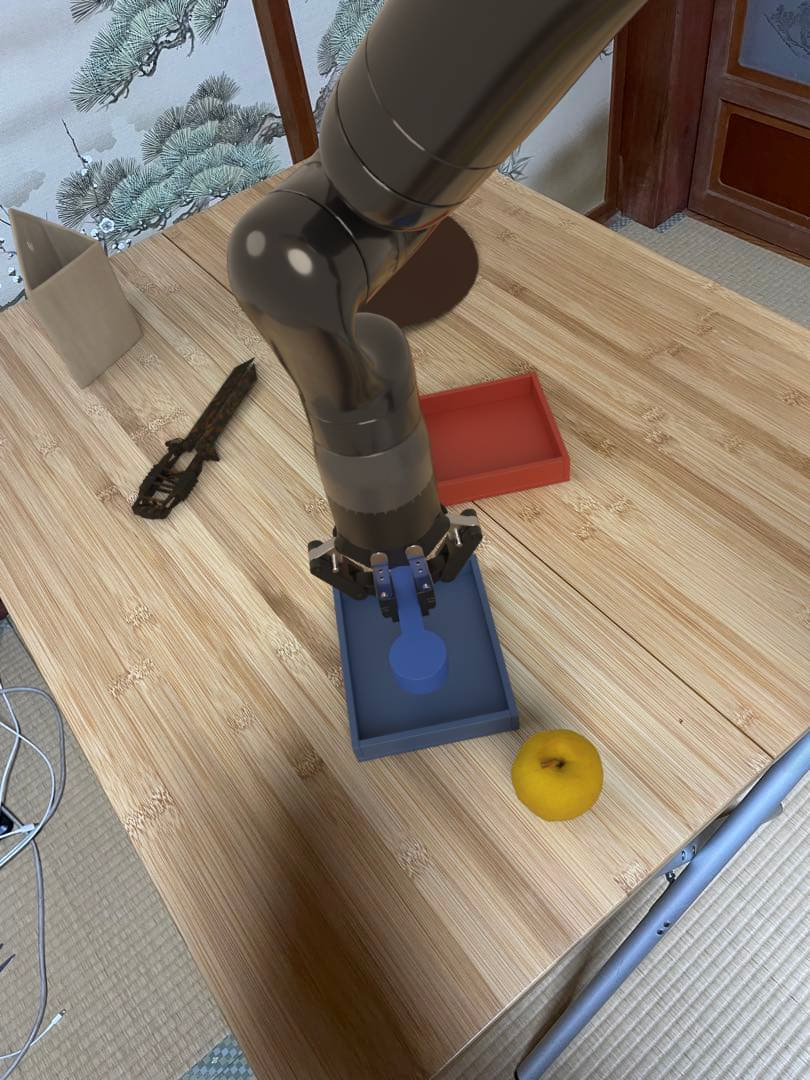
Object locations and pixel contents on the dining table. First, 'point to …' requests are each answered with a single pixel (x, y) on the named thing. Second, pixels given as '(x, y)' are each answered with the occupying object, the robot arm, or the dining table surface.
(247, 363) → the knife
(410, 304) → the plate
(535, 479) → the red tray
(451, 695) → the blue tray
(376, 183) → the robot arm
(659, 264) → the dining table surface
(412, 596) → the spoon
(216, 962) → the dining table surface
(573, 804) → the apple
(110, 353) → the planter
